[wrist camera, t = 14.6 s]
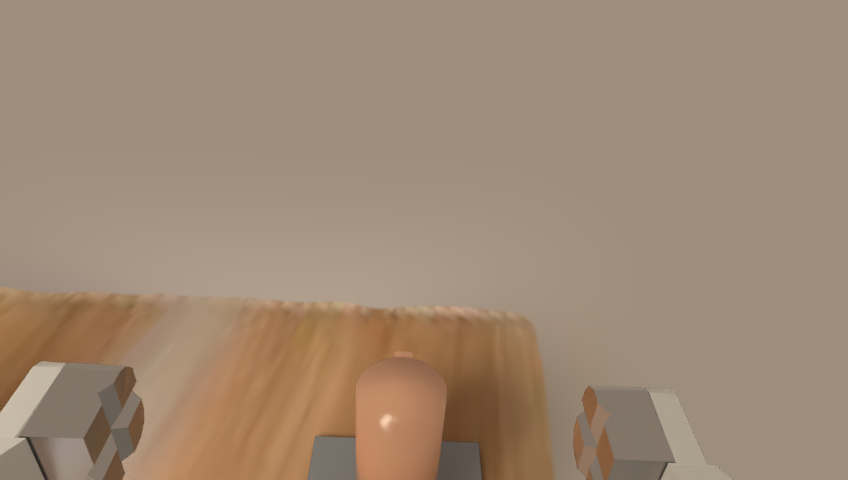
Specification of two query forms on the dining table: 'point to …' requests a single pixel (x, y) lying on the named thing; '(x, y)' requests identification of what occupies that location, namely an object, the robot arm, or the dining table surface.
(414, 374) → the tall peach cylinder
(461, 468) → the mat
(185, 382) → the dining table surface
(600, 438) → the robot arm
